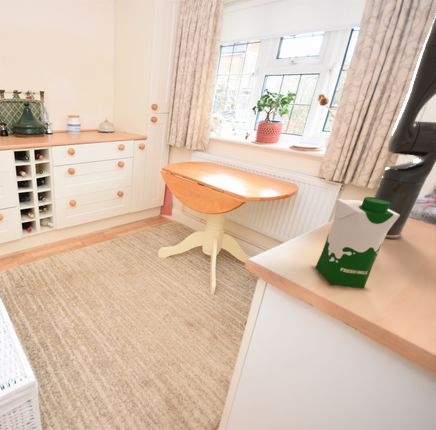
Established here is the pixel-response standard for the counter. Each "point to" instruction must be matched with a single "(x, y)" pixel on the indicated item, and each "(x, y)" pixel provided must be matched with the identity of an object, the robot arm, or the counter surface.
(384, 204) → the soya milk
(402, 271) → the counter surface
